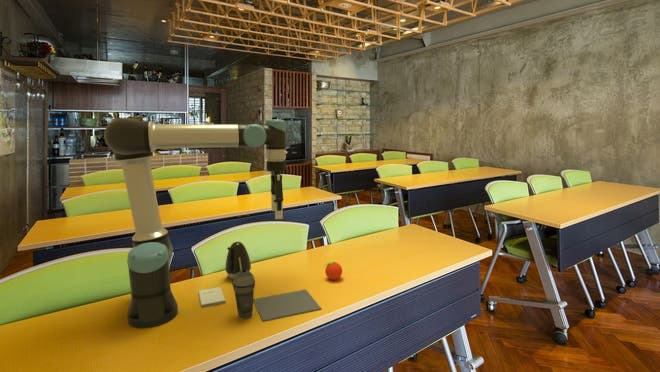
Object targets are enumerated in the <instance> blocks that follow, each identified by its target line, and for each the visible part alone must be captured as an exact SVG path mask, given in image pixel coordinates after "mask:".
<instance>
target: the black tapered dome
mask: <svg viewBox="0 0 660 372" xmlns="http://www.w3.org/2000/svg"><path fill="white" fill-rule="evenodd" d="M226 249H227V250H228V251H227V255H226V260H225V267H224V269H225V272H226V274H227V276H228V278H230V279H231V280H233V278H234V276H235V275H236V273H237V272H239V271H241V270H240V264H239V257H240V261H241V267H242V270H247V271H249V272H251V270H252V265H251V259H250V256H249V253H248V250H247V248H246V246H245V245H244V243H243V242H241V241H234V242H232V243H231V245H230V246H228V247H227V248H226Z"/></svg>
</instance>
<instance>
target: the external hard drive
mask: <svg viewBox="0 0 660 372" xmlns="http://www.w3.org/2000/svg"><path fill="white" fill-rule="evenodd" d="M197 292H198V296H199V297H198V298H199V302H200V307H201V309H202V308H207V307H212V306H218V305H222V304H226V302H227V301H226V299H225V296H224V293H223V290H222V288H221V287H220V286H218V287H214V288H206V289H201V290H198V291H197Z"/></svg>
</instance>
